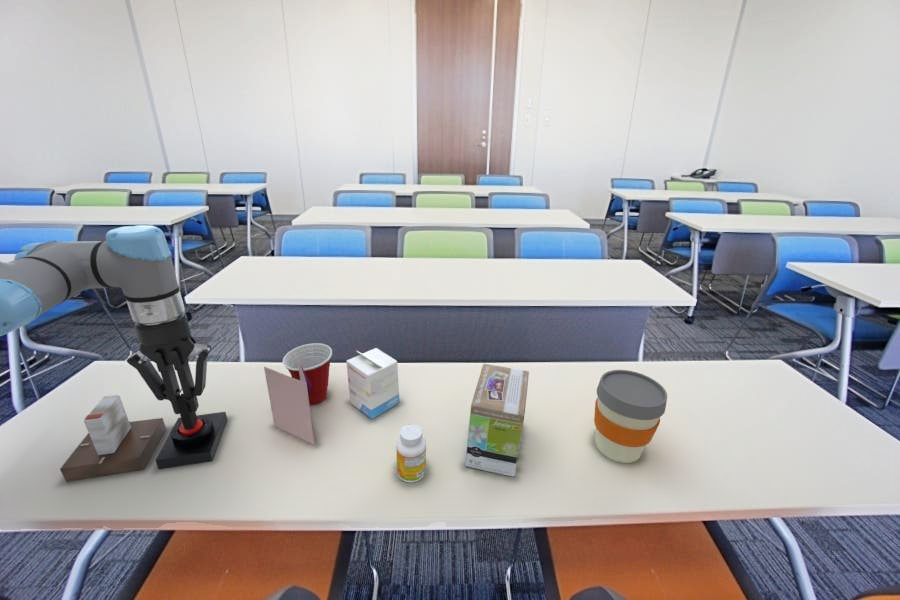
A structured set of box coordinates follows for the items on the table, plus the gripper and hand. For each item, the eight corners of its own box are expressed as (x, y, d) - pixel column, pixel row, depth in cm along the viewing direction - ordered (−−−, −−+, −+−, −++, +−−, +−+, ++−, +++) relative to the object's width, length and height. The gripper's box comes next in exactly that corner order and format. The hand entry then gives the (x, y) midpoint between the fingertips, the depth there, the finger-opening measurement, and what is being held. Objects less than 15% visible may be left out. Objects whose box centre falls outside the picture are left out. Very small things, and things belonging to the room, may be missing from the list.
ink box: (400, 403, 93) (399, 354, 88) (370, 420, 88) (367, 368, 82) (377, 387, 99) (375, 340, 93) (348, 402, 93) (344, 353, 88)
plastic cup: (285, 390, 96) (279, 348, 91) (331, 380, 101) (327, 338, 96) (292, 418, 87) (284, 372, 83) (341, 404, 92) (337, 360, 87)
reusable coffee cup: (592, 418, 91) (604, 362, 85) (652, 438, 85) (669, 380, 79) (580, 454, 80) (593, 393, 75) (648, 479, 75) (668, 416, 69)
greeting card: (319, 443, 81) (311, 382, 75) (280, 455, 77) (268, 392, 71) (308, 410, 90) (301, 353, 84) (273, 420, 87) (262, 361, 81)
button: (177, 441, 77) (175, 434, 76) (184, 427, 80) (182, 420, 79) (201, 437, 78) (199, 430, 77) (207, 424, 81) (205, 417, 80)
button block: (158, 469, 73) (152, 452, 72) (180, 425, 84) (176, 410, 82) (212, 461, 76) (208, 444, 74) (227, 419, 86) (224, 404, 85)
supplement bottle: (397, 461, 77) (396, 421, 73) (425, 460, 78) (425, 420, 74) (396, 484, 72) (395, 443, 68) (426, 482, 73) (426, 441, 69)
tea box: (516, 478, 74) (525, 415, 68) (464, 467, 76) (468, 405, 70) (522, 425, 88) (529, 369, 82) (477, 417, 90) (481, 361, 84)
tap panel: (65, 482, 70) (58, 468, 69) (98, 437, 80) (93, 425, 79) (143, 470, 73) (138, 457, 72) (166, 428, 83) (162, 416, 82)
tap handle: (116, 429, 78) (103, 395, 75) (131, 427, 79) (119, 393, 76) (97, 455, 72) (82, 419, 69) (114, 453, 73) (99, 417, 69)
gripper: (104, 330, 64) (144, 443, 73) (195, 323, 67) (223, 432, 76) (126, 310, 70) (160, 416, 80) (208, 305, 74) (232, 407, 83)
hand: (191, 424), depth 78 cm, fingers closed
